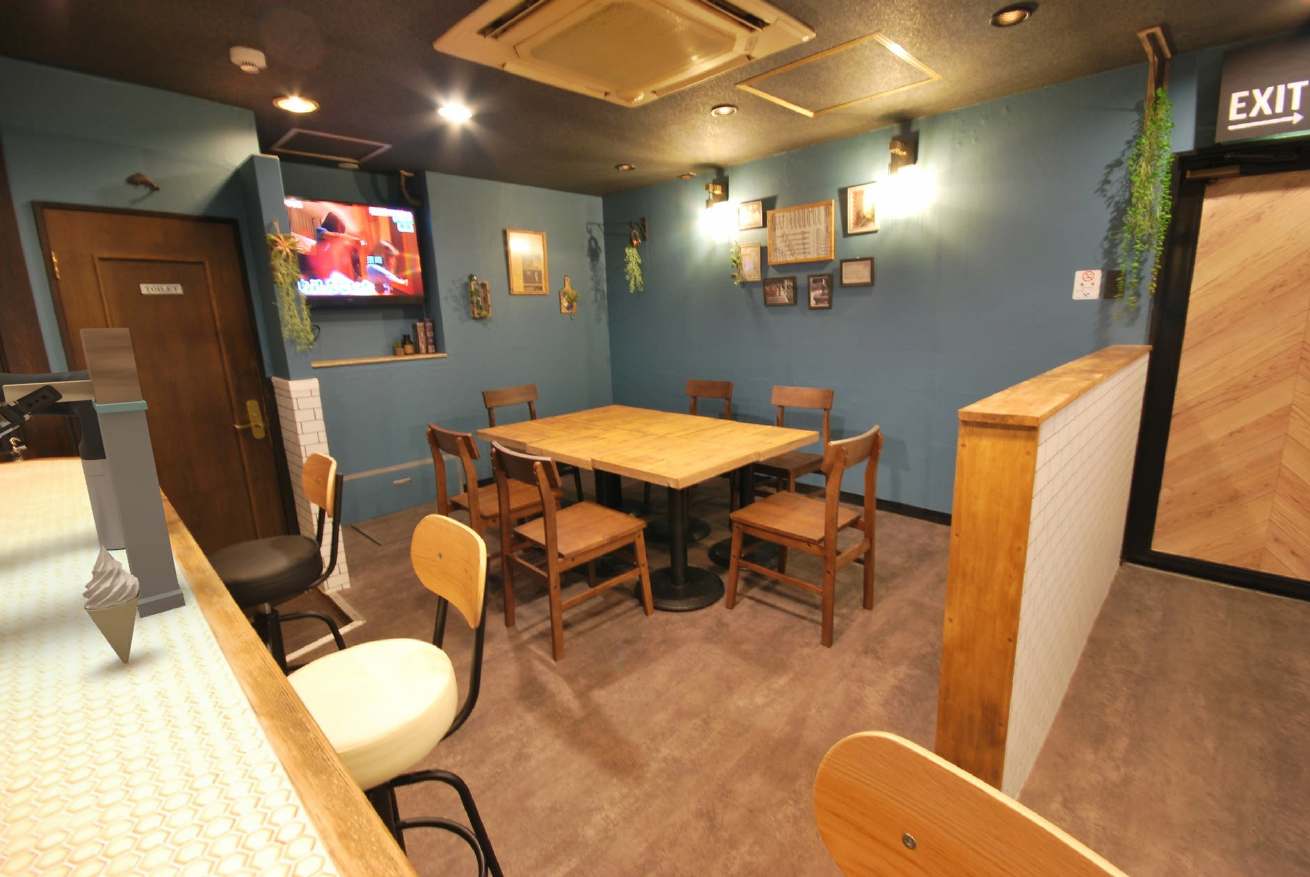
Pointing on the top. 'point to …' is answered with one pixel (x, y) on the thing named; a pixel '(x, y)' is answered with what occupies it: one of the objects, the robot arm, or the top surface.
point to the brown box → (96, 371)
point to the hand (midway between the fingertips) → (57, 388)
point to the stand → (139, 505)
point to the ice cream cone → (113, 602)
